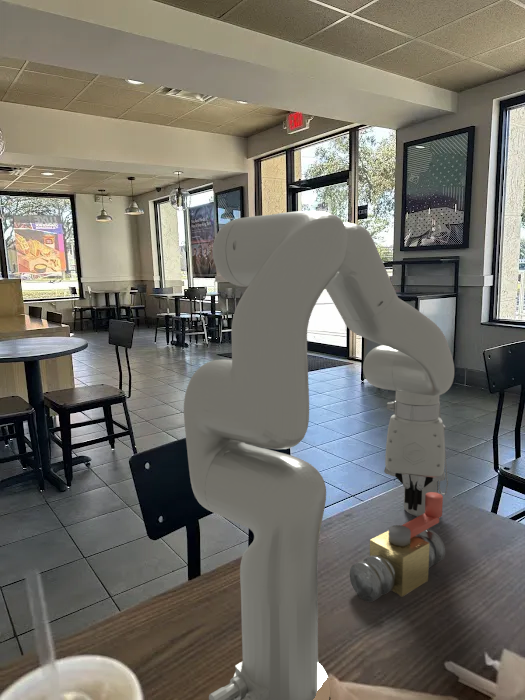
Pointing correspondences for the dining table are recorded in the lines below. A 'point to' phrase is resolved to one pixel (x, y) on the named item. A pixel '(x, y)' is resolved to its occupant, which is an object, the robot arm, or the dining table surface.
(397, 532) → the lever
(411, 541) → the valve
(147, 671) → the dining table surface
